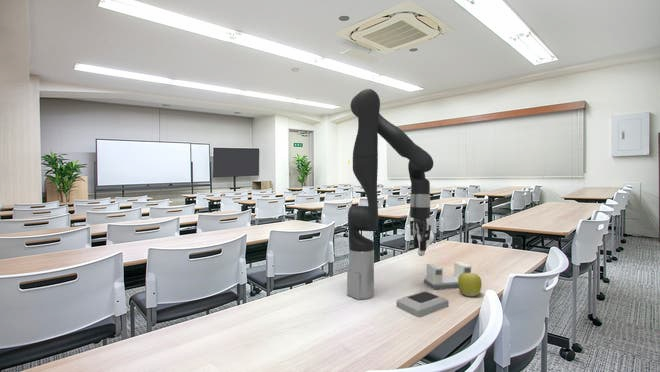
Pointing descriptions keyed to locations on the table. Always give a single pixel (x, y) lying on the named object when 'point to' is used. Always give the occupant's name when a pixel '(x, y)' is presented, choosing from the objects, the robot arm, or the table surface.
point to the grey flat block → (422, 303)
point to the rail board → (444, 283)
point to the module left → (434, 273)
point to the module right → (461, 268)
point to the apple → (469, 284)
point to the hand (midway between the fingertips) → (419, 248)
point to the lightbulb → (426, 242)
